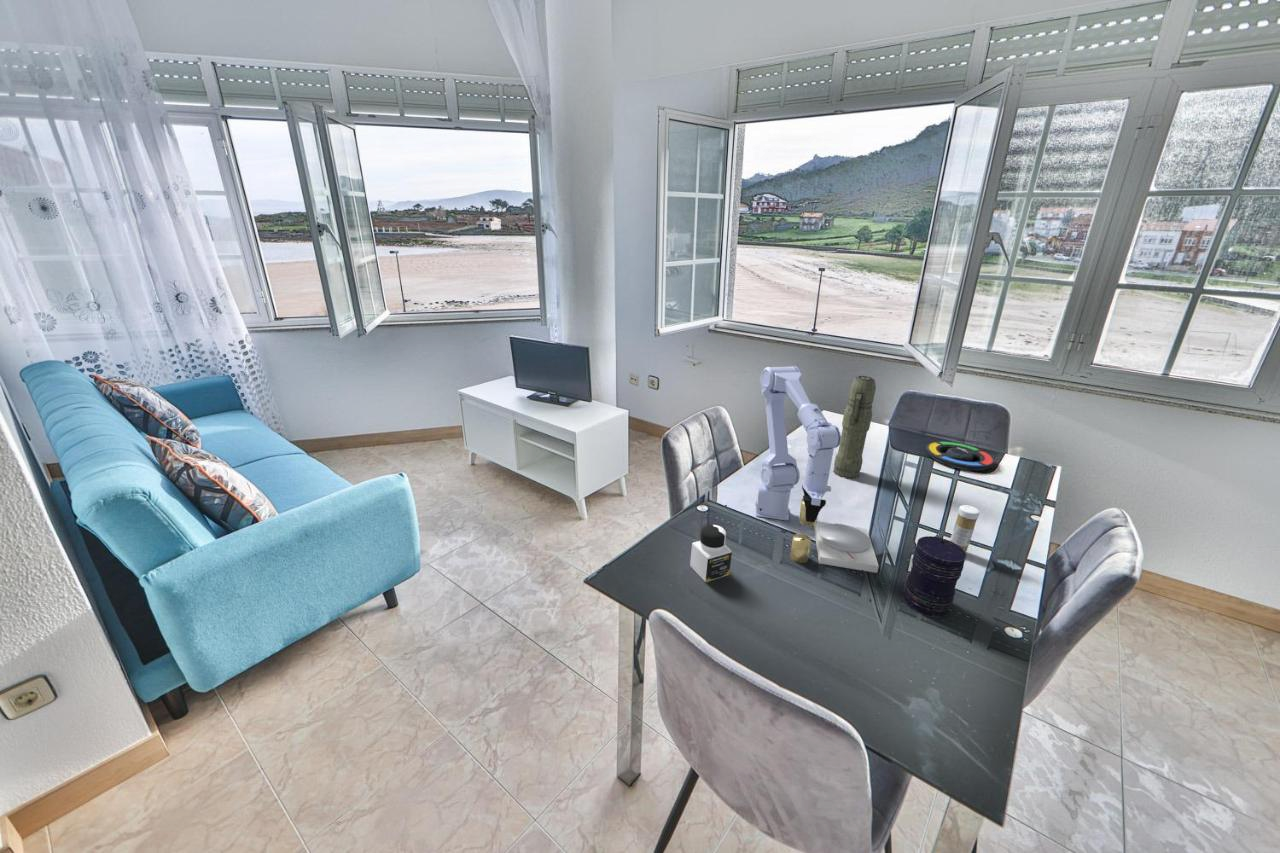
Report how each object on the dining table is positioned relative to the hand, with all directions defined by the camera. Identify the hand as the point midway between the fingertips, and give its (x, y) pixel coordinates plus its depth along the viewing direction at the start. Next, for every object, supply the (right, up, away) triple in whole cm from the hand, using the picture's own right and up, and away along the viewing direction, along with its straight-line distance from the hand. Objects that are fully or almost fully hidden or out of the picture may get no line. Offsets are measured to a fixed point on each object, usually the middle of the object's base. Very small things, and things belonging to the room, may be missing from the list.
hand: (809, 516), depth 139 cm
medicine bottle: (-28, -12, -10) cm, 32 cm away
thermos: (+28, +7, +46) cm, 54 cm away
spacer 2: (-4, -10, -3) cm, 11 cm away
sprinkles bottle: (+40, -10, +2) cm, 42 cm away
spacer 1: (0, -1, +1) cm, 2 cm away
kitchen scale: (+10, -9, +2) cm, 13 cm away
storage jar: (+21, -17, -18) cm, 33 cm away
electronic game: (+76, +11, +61) cm, 98 cm away
